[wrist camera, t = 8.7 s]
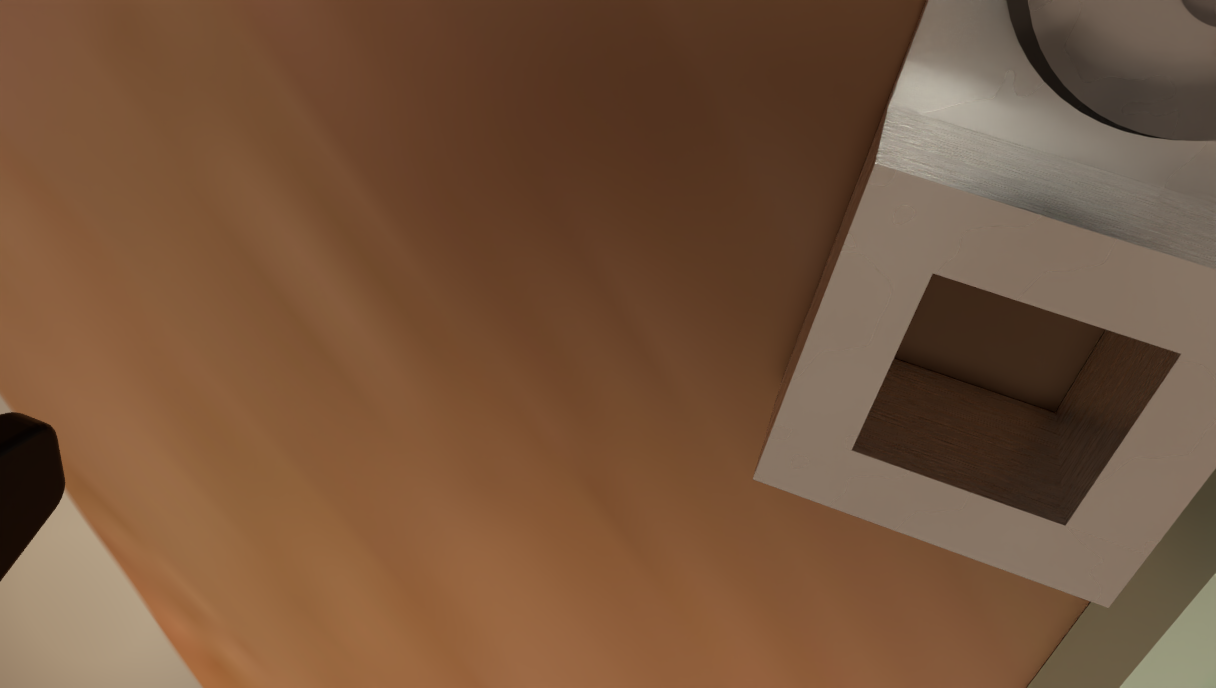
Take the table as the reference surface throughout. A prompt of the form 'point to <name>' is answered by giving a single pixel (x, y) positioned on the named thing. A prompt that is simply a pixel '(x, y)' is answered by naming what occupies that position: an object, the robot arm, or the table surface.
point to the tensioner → (1024, 290)
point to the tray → (1151, 617)
